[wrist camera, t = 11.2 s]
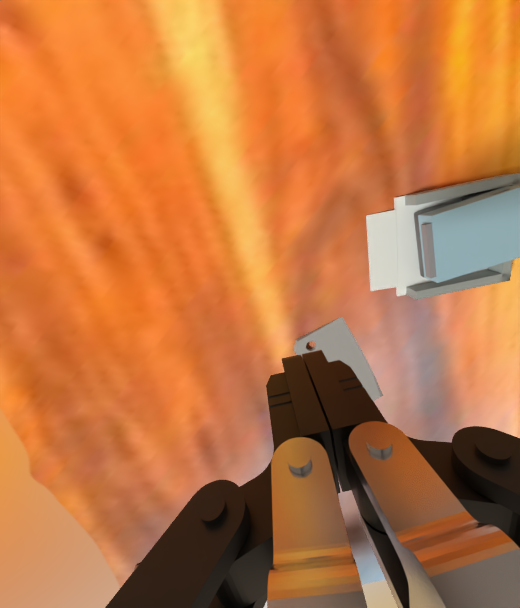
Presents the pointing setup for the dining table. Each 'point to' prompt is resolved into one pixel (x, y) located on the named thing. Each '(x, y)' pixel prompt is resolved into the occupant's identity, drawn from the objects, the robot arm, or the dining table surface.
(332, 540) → the robot arm
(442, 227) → the pale blue lipped slab
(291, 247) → the dining table surface
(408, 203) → the dock
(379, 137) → the dining table surface
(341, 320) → the kitchen cleaver
